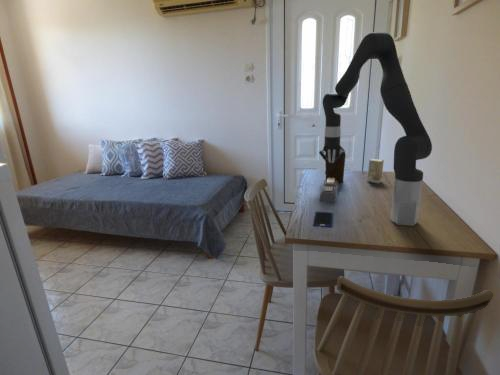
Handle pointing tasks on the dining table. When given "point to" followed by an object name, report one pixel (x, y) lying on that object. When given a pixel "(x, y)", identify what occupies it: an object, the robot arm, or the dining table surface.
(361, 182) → the dining table surface
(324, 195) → the switch panel
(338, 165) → the olive oil
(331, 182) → the far switch
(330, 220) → the cell phone
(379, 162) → the skincare box
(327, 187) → the near switch
